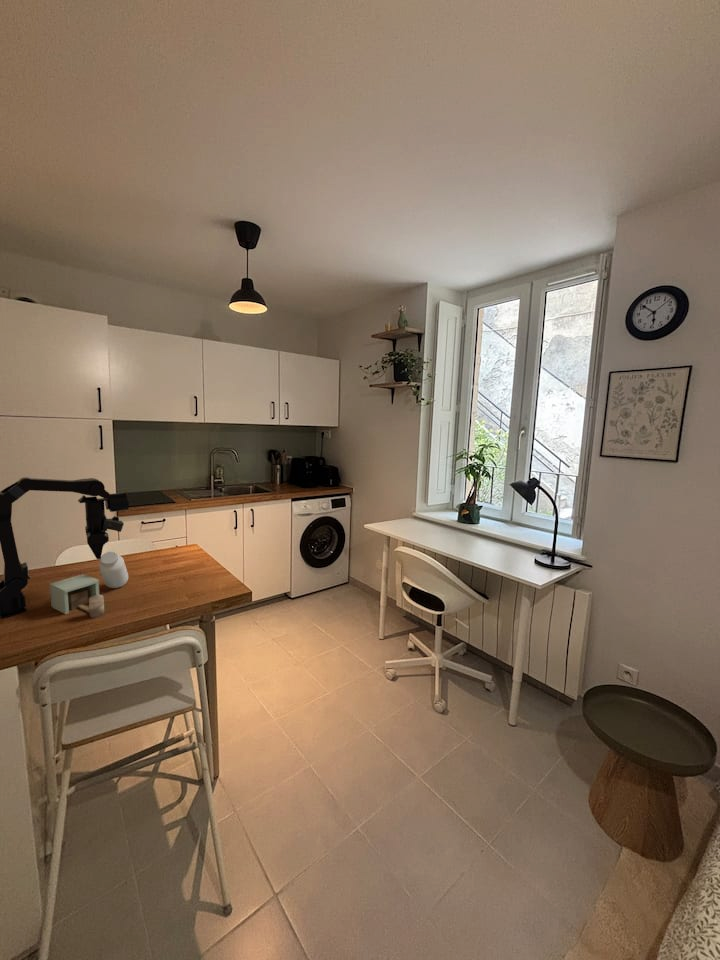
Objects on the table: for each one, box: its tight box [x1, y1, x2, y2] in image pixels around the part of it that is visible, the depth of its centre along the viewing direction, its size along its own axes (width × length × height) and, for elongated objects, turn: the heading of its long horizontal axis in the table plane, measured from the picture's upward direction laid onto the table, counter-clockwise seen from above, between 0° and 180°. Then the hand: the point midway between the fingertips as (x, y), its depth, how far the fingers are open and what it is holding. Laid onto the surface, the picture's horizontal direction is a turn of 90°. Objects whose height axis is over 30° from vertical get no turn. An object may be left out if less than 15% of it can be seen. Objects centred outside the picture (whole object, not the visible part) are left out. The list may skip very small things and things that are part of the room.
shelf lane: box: [49, 573, 100, 615], centre depth 135 cm, size 10×10×8 cm
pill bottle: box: [98, 551, 129, 589], centre depth 147 cm, size 8×8×15 cm
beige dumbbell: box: [68, 588, 105, 619], centre depth 132 cm, size 5×18×6 cm, turn 61°
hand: (97, 555), depth 144 cm, fingers open, 9 cm apart
